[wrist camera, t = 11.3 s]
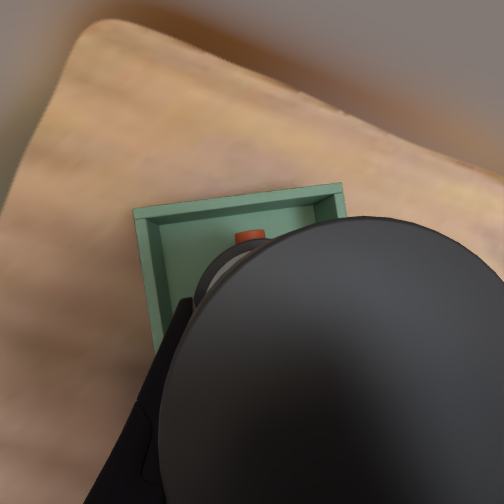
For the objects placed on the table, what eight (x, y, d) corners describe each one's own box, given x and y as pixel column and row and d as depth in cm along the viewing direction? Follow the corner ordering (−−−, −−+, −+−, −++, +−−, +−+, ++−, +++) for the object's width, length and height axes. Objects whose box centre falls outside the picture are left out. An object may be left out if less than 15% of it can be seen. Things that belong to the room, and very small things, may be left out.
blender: (319, 345, 17) (597, 582, 5) (206, 368, 16) (174, 737, 4) (301, 226, 17) (528, 141, 5) (187, 242, 16) (91, 191, 4)
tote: (341, 356, 20) (372, 382, 16) (176, 391, 19) (166, 428, 15) (316, 196, 20) (342, 181, 16) (150, 218, 19) (132, 208, 15)
